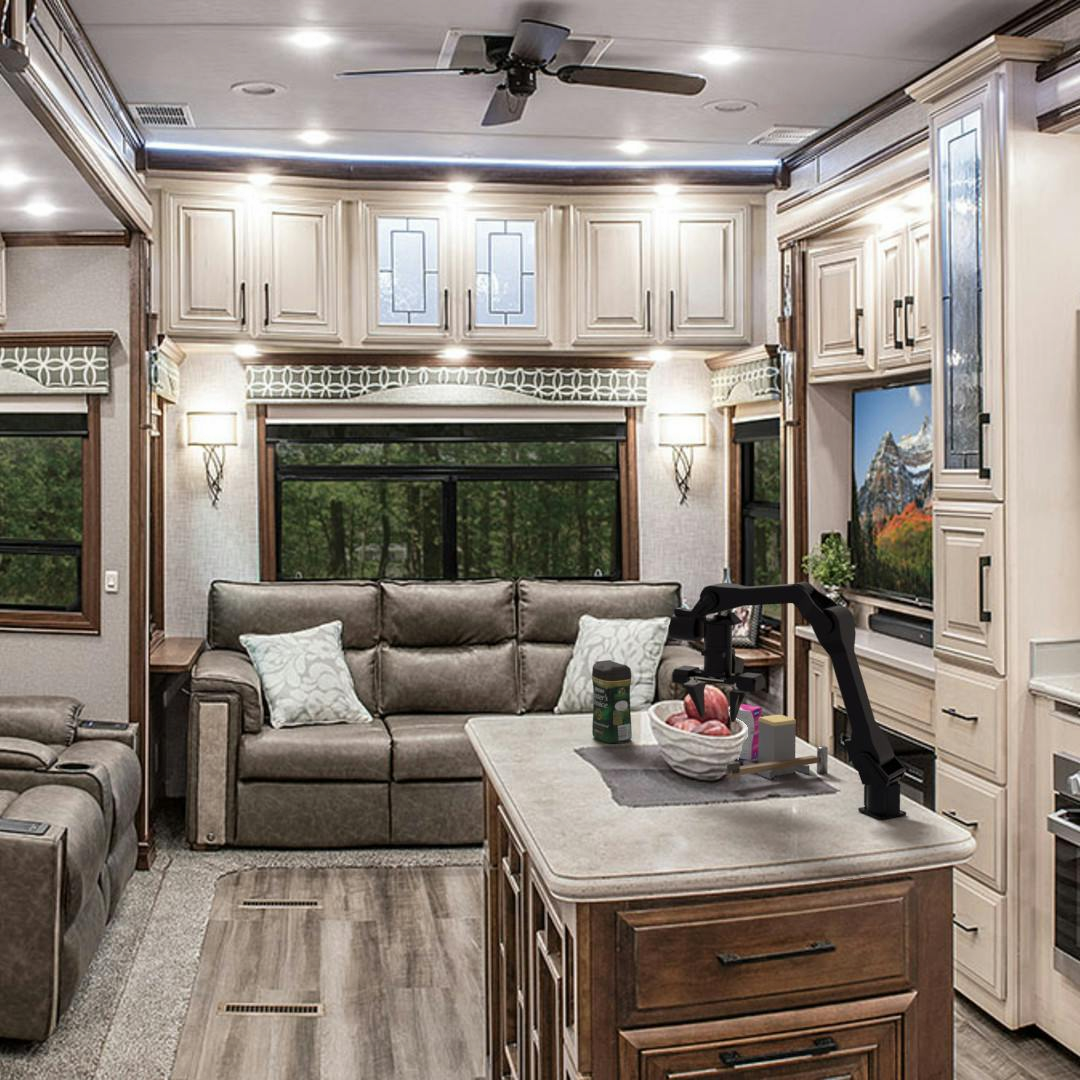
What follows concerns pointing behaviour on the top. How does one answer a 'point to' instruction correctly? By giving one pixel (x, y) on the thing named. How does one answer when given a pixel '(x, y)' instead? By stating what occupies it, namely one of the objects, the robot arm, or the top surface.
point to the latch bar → (769, 765)
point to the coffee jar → (611, 702)
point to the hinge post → (822, 759)
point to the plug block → (777, 740)
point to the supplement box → (750, 731)
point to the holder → (770, 773)
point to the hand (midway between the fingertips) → (717, 719)
